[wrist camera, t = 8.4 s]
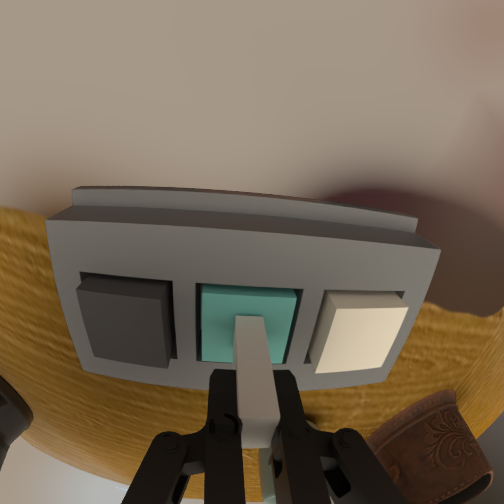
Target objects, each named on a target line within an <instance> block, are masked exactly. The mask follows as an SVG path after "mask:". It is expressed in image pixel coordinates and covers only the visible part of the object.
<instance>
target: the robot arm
mask: <svg viewBox="0 0 504 504" xmlns="http://www.w3.org/2000/svg"><path fill="white" fill-rule="evenodd" d="M32 420H33V415H32V412H31V411H30V409H29V407H28V406H27V405H26V403H25V402H24V401H23V400H22V398H21V397H20V396H19V395H18V394H17V393H16V392H15V391H14V390H13V389H12V387H11V386H10V385H9V384H8V383H7V382H6V381H4V380H3V379H2V378H1V377H0V470H1V467H2V464H3V462H4V459H5V457H6V454H7V451H8V449H9V447H10V445H11V443H12V442H13V441H14V440H15V439H16V438H18V437H19V436H20V434H21V433H22V432H23V431H24V430H27V429H28V428H29V427H30V424H31V422H32ZM270 445H271V447H272V453H271V456H270V458H269V460H268V465H270V464H271V467H272V475H273V482H274V490H275V498H276V504H331V500H330V496H331V498H332V500H333V502H334V503H335V504H409V503H408V501H407V500H406V498H405V497H404V496H403V494H402V493H401V491H400V490H399V489H398V487H397V486H396V484H395V483H394V482H393V480H392V479H391V477H390V476H389V475H388V473H387V472H386V470H385V469H384V467H383V466H382V465H381V463H380V462H379V460H378V459H377V458H376V456H375V455H374V453H373V452H372V450H371V449H370V447H369V446H368V445H367V443H366V442H365V440H364V439H363V437H362V436H361V435H360V434H359V433H358V432H357V431H356V430H354V429H351V428H343V429H340V430H338V431H336V432H335V433H331V432H324V431H320V430H316V429H314V428H313V427H311V426H310V425H309V424H308V422H307V421H306V418H305V414H304V410H303V406H302V402H301V398H300V394H299V390H298V387H297V382H296V378H295V376H294V375H293V374H292V373H291V371H290V370H272V365H271V359H270V353H269V347H268V342H267V336H266V330H265V324H264V318H263V317H260V316H239V315H236V317H235V329H234V340H233V370H232V369H214V370H213V372H212V374H211V375H210V379H209V396H208V414H207V420H206V425H205V426H204V427H203V428H202V429H201V430H200V431H198V432H196V433H192V434H187V435H180V434H178V433H176V432H170V431H167V432H162V433H160V434H158V435H157V436H156V437H155V438H154V439H153V441H152V443H151V445H150V447H149V449H148V451H147V453H146V455H145V457H144V459H143V461H142V463H141V465H140V467H139V469H138V471H137V473H136V475H135V477H134V479H133V481H132V483H131V485H130V487H129V489H128V491H127V493H126V495H125V497H124V499H123V501H122V503H121V504H180V502H181V500H182V497H183V495H184V492H185V490H186V487H187V484H188V482H189V479H190V476H191V475H194V474H199V473H203V472H205V482H204V504H246V502H245V488H244V473H243V458H242V448H269V447H270ZM329 495H330V496H329Z"/></svg>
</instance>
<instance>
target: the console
mask: <svg viewBox="0 0 504 504" xmlns="http://www.w3.org/2000/svg"><path fill="white" fill-rule="evenodd" d="M72 204H73V206H71V207H69V208H67V209H65V210H63V211H61V212H59V213H57V214H55V215H53V216H52V217H50V218H48V219H46V220H45V222H46V230H47V238H48V244H49V251H50V257H51V262H52V267H53V272H54V277H55V281H56V286H57V290H58V294H59V298H60V302H61V306H62V309H63V313H64V316H65V320H66V323H67V326H68V329H69V332H70V335H71V338H72V341H73V344H74V347H75V350H76V352H77V355H78V358H79V360H80V363H81V365H82V368H83V370H84V371H87V372H91V373H96V374H100V375H105V376H109V377H114V378H119V379H124V380H130V381H135V382H141V383H148V384H155V385H162V386H170V387H178V388H188V389H199V390H209V379H210V375H211V374H212V372H213V370H214V369H232V370H233V363H228V362H211V361H202V291H203V285H204V283H208V284H223V285H238V286H255V287H274V288H293V290H294V292H295V295H296V297H297V299H296V304H295V309H294V313H293V318H292V322H291V327H290V331H289V335H288V340H287V344H286V348H285V352H284V356H283V360H282V364H271V365H272V370H290V371H291V373H292V374H293V375H294V376H295V378H296V382H297V387H298V390H299V391H306V390H320V389H332V388H341V387H350V386H358V385H365V384H372V383H378V382H384V380H385V379H386V377H387V375H388V373H389V372H390V370H391V368H392V366H393V364H394V363H395V361H396V359H397V357H398V355H399V353H400V351H401V349H402V347H403V345H404V343H405V341H406V339H407V337H408V335H409V333H410V331H411V328H412V326H413V324H414V322H415V320H416V317H417V315H418V313H419V310H420V308H421V305H422V303H423V300H424V298H425V295H426V293H427V290H428V288H429V285H430V282H431V279H432V277H433V274H434V271H435V268H436V265H437V262H438V259H439V256H440V252H441V249H439V248H438V247H436V246H435V245H433V244H432V243H430V242H428V241H427V240H425V239H424V238H422V237H420V236H419V235H417V234H415V229H416V225H417V221H418V219H417V218H416V217H414V216H412V215H410V214H406V213H400V212H395V211H389V210H383V209H377V208H371V207H365V206H358V205H352V204H345V203H338V202H331V201H324V200H316V199H308V198H299V197H291V196H282V195H272V194H261V193H250V192H239V191H226V190H212V189H195V188H175V187H146V186H80V187H77V188H75V189H72ZM90 273H99V274H108V275H117V276H127V277H137V278H147V279H158V280H170V281H172V294H173V313H174V329H175V341H174V345H173V349H172V353H171V357H170V362H169V366H168V369H164V368H157V367H149V366H142V365H136V364H130V363H124V362H118V361H113V360H108V359H103V358H98V357H94V355H93V352H92V349H91V345H90V342H89V339H88V336H87V332H86V329H85V325H84V322H83V318H82V314H81V310H80V306H79V302H78V298H77V293H76V288H77V287H78V286H79V285H80V284H81V283H82V282H83V280H84V279H85V278H86V277H87V276H88V275H89V274H90ZM324 290H364V291H394V292H395V293H396V294H397V295H398V296H399V297H400V298H401V299H402V301H403V302H404V303H405V304H406V305H407V306H408V307H409V308H408V310H407V313H406V315H405V317H404V320H403V322H402V324H401V327H400V329H399V331H398V333H397V336H396V338H395V340H394V342H393V344H392V346H391V348H390V350H389V352H388V354H387V356H386V358H385V360H384V362H383V364H382V366H381V367H378V368H370V369H362V370H353V371H342V372H330V373H315V372H314V369H313V366H312V363H311V360H310V357H309V354H308V351H307V350H308V347H309V344H310V340H311V337H312V334H313V330H314V327H315V323H316V319H317V316H318V312H319V308H320V305H321V301H322V297H323V293H324Z"/></svg>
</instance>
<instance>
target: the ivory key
mask: <svg viewBox="0 0 504 504" xmlns="http://www.w3.org/2000/svg"><path fill="white" fill-rule="evenodd" d="M408 308H409V307H408V306H407V305H406V304H405V303H404V302H403V301H402V299H401V298H400V297H399V296H398V295H397V294H396V293H395V292H394V291H364V290H324V293H323V297H322V301H321V305H320V308H319V312H318V316H317V319H316V323H315V327H314V330H313V334H312V337H311V340H310V344H309V347H308V350H307V351H308V354H309V357H310V360H311V363H312V366H313V369H314V372H315V373H330V372H342V371H353V370H362V369H370V368H378V367H381V366H382V364H383V362H384V360H385V358H386V356H387V354H388V352H389V350H390V348H391V346H392V344H393V342H394V340H395V338H396V336H397V333H398V331H399V329H400V327H401V324H402V322H403V320H404V317H405V315H406V313H407V310H408Z"/></svg>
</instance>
